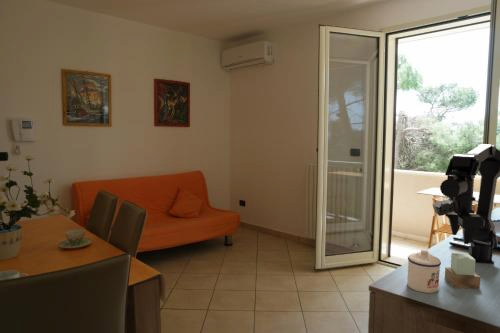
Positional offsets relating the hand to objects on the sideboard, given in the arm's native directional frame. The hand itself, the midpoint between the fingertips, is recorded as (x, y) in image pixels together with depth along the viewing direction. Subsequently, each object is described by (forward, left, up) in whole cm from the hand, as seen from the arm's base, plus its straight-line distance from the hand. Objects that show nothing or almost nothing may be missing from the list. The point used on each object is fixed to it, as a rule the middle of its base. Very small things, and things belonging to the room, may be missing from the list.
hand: (459, 239), depth 117 cm
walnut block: (+2, +7, -12) cm, 14 cm away
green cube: (+2, +7, -8) cm, 11 cm away
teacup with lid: (+14, +11, -12) cm, 22 cm away
